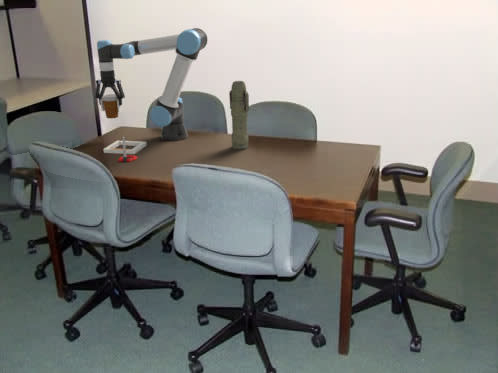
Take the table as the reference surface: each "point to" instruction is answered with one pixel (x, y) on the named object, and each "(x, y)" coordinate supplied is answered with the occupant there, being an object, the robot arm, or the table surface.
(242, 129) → the olive green statue
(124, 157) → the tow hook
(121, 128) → the table surface
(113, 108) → the disposable coffee cup
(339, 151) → the table surface
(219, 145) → the table surface
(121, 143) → the holder frame
